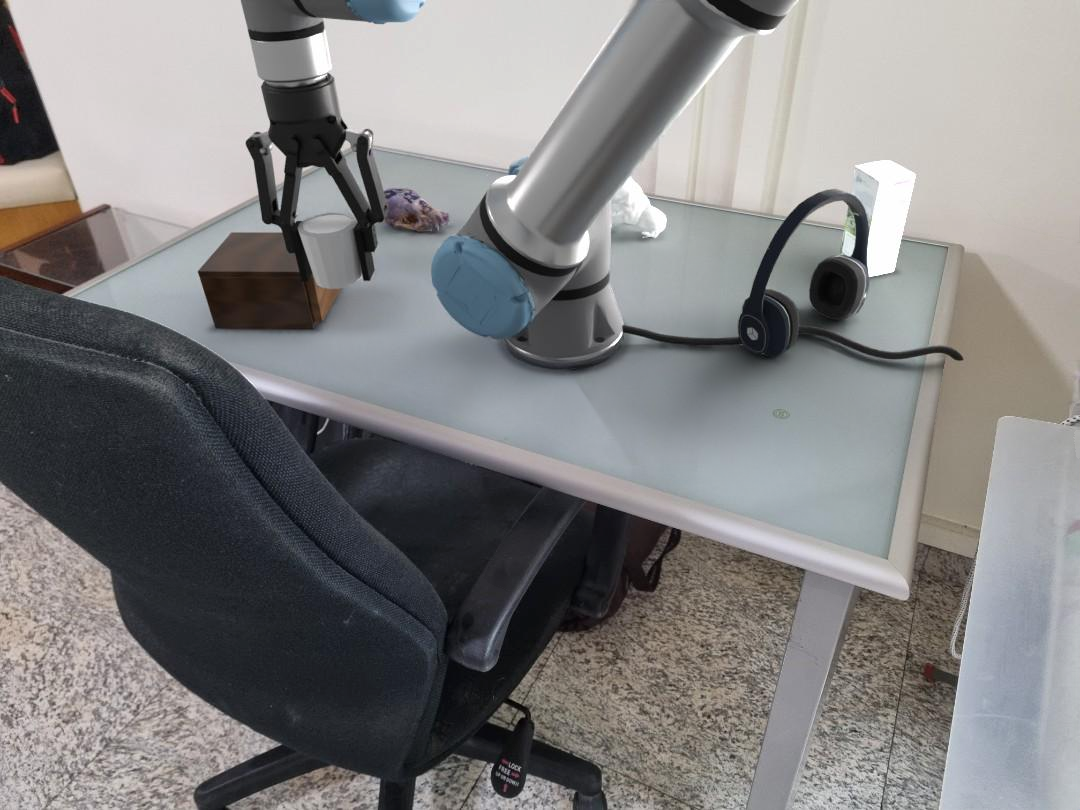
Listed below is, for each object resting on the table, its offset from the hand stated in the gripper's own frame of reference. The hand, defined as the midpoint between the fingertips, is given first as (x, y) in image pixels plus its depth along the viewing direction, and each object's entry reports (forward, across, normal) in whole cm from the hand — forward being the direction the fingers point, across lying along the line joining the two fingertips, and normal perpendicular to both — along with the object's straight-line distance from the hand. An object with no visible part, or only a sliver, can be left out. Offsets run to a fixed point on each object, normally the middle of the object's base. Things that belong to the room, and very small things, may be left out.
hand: (338, 275), depth 100 cm
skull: (+11, -1, -38) cm, 39 cm away
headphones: (+12, -56, -5) cm, 58 cm away
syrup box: (+12, -69, -23) cm, 73 cm away
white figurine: (+11, -36, -35) cm, 51 cm away
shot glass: (+1, 0, 0) cm, 1 cm away
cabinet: (+10, +14, -11) cm, 20 cm away
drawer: (+10, +11, -11) cm, 18 cm away
